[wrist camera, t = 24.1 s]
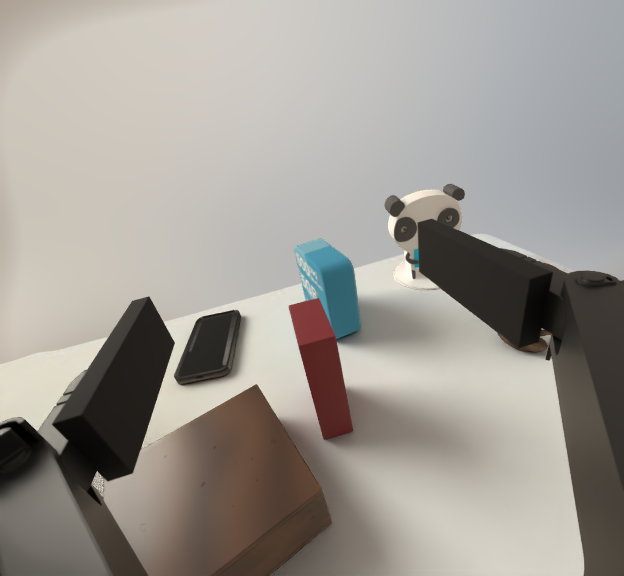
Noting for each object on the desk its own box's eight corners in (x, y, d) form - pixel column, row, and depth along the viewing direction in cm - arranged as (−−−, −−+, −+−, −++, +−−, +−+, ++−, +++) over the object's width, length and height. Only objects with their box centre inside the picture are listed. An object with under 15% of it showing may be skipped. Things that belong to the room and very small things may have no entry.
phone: (239, 308, 54) (227, 369, 41) (241, 313, 55) (229, 374, 42) (197, 317, 54) (171, 380, 41) (199, 322, 55) (174, 386, 42)
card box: (311, 392, 37) (288, 305, 30) (336, 385, 37) (318, 297, 31) (323, 440, 31) (298, 346, 25) (353, 431, 32) (335, 335, 25)
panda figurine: (399, 295, 51) (396, 208, 44) (383, 265, 61) (378, 191, 53) (471, 283, 50) (480, 192, 43) (443, 255, 60) (447, 177, 53)
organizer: (142, 683, 19) (97, 664, 17) (132, 500, 30) (103, 470, 27) (332, 522, 25) (321, 489, 22) (269, 415, 35) (256, 383, 32)
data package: (306, 306, 53) (292, 243, 47) (329, 297, 54) (318, 235, 48) (335, 345, 43) (321, 272, 37) (362, 333, 44) (353, 260, 38)
